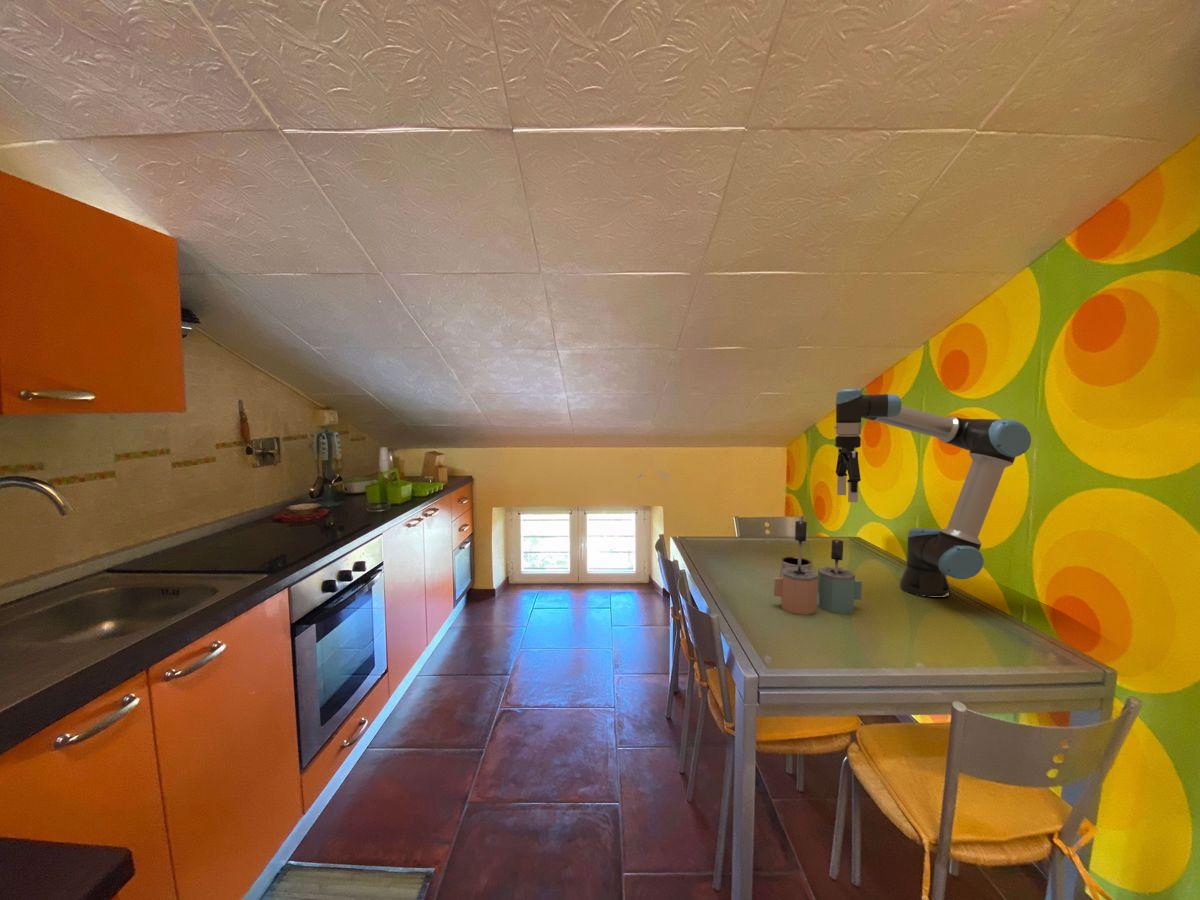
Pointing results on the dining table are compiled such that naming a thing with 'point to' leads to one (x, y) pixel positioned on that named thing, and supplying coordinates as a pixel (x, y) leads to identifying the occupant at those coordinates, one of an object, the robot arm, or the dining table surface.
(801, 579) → the pot terracotta
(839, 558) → the dark brown cylinder-topped rod
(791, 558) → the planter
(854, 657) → the dining table surface
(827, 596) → the pot teal
